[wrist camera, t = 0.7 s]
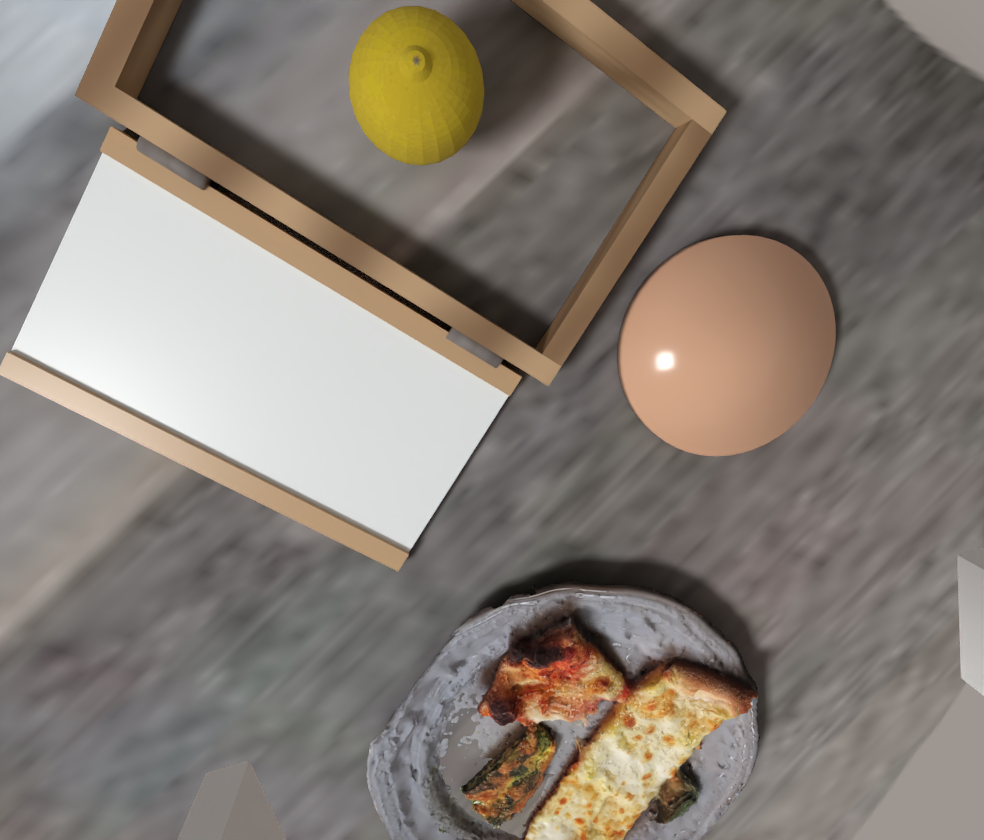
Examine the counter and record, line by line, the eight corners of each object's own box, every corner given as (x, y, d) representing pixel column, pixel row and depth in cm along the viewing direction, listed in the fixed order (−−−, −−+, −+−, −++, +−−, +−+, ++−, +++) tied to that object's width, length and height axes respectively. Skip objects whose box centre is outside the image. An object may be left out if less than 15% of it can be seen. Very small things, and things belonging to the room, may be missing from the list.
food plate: (535, 502, 34) (546, 531, 31) (811, 671, 40) (846, 711, 36) (313, 798, 39) (302, 850, 35) (589, 912, 44) (602, 967, 41)
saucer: (575, 384, 33) (579, 388, 32) (703, 189, 31) (712, 187, 30) (738, 485, 35) (746, 492, 34) (865, 312, 33) (878, 314, 32)
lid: (11, 369, 29) (-3, 373, 28) (122, 130, 27) (111, 126, 26) (399, 562, 34) (398, 571, 33) (519, 373, 32) (522, 377, 31)
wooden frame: (93, 121, 27) (67, 110, 25) (256, -238, 24) (241, -281, 22) (534, 389, 32) (541, 397, 31) (707, 120, 30) (727, 111, 28)
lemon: (457, 192, 29) (467, 168, 22) (347, 152, 28) (316, 113, 21) (491, 75, 28) (515, 6, 21) (378, 30, 27) (358, -60, 20)
